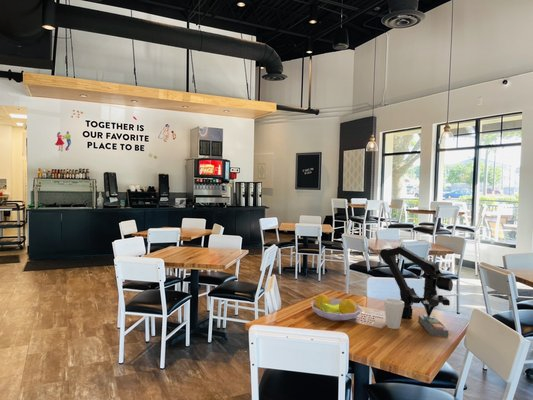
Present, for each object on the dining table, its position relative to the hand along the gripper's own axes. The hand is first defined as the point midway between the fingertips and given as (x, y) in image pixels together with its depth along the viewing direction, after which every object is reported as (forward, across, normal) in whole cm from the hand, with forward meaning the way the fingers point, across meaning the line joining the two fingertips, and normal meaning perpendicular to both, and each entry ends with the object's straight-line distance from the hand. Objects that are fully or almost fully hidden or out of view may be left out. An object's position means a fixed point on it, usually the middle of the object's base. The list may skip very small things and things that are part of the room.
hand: (428, 316), depth 200 cm
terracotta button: (+1, 0, -14) cm, 14 cm away
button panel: (+4, 0, -7) cm, 8 cm away
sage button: (+2, 0, -7) cm, 7 cm away
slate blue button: (+2, 0, 0) cm, 2 cm away
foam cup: (+4, -20, -9) cm, 22 cm away
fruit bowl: (+4, -49, -1) cm, 49 cm away
